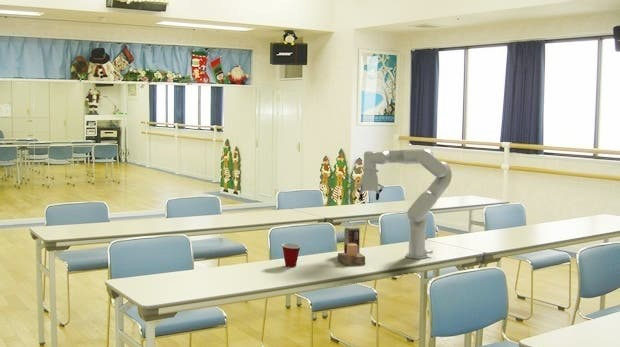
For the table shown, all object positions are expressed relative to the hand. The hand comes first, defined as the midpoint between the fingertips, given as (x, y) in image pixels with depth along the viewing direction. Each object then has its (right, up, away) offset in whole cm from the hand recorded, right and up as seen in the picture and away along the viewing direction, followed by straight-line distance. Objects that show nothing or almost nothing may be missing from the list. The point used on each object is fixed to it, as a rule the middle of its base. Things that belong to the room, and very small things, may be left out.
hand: (369, 200), depth 407 cm
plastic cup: (-46, -35, -34) cm, 67 cm away
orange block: (-12, -30, -25) cm, 41 cm away
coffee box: (-11, -33, -6) cm, 35 cm away
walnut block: (-12, -35, -24) cm, 44 cm away
